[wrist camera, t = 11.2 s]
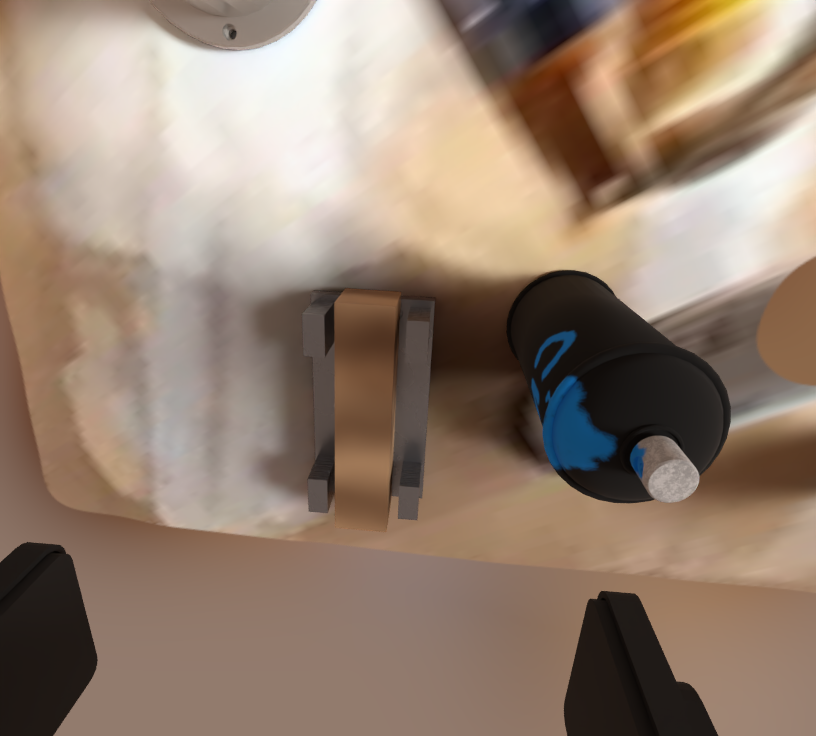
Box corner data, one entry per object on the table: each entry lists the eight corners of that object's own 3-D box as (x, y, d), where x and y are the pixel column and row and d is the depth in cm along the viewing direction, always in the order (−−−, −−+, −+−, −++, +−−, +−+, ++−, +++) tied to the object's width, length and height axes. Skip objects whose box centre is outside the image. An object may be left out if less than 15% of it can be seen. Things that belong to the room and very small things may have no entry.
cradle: (314, 290, 38) (297, 306, 34) (435, 297, 38) (433, 314, 34) (318, 483, 45) (305, 516, 41) (422, 491, 44) (420, 525, 40)
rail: (345, 288, 37) (334, 302, 33) (401, 291, 37) (396, 306, 33) (344, 496, 44) (334, 527, 40) (391, 500, 44) (386, 532, 40)
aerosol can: (622, 263, 36) (807, 373, 18) (618, 371, 39) (774, 563, 21) (503, 275, 37) (560, 393, 18) (508, 381, 40) (562, 572, 22)
